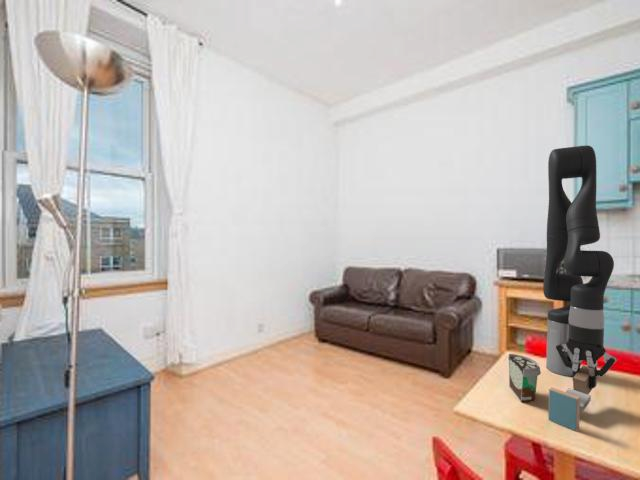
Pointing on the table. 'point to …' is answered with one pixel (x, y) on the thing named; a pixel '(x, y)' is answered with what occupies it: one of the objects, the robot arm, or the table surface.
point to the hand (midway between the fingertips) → (584, 385)
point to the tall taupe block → (581, 387)
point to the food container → (523, 377)
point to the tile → (564, 408)
